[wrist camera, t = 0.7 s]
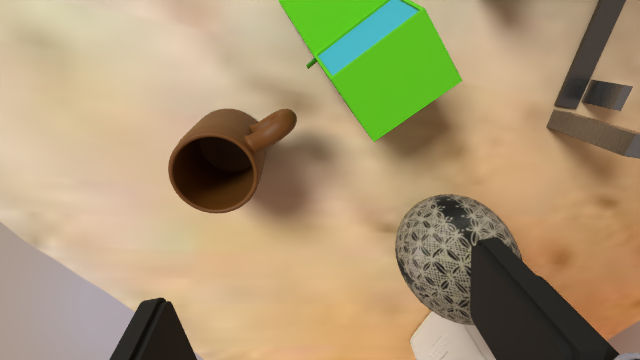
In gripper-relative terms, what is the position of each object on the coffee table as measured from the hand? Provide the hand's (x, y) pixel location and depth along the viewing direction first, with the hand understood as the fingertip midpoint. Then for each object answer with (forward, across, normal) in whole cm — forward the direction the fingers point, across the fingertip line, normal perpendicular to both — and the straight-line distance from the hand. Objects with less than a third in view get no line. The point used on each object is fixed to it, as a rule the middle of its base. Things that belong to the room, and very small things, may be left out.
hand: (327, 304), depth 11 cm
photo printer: (+28, -13, +34) cm, 46 cm away
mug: (+28, +6, +1) cm, 29 cm away
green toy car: (+28, -6, -6) cm, 30 cm away
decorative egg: (+28, -13, +16) cm, 35 cm away
